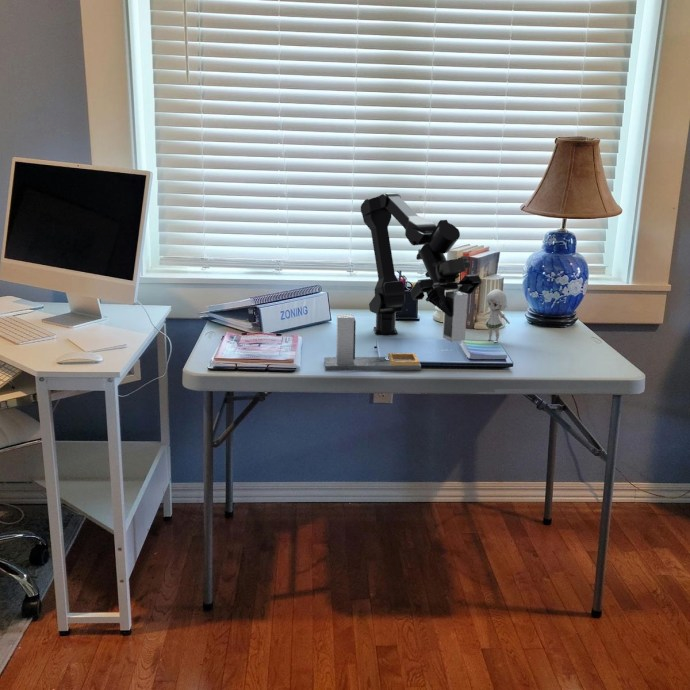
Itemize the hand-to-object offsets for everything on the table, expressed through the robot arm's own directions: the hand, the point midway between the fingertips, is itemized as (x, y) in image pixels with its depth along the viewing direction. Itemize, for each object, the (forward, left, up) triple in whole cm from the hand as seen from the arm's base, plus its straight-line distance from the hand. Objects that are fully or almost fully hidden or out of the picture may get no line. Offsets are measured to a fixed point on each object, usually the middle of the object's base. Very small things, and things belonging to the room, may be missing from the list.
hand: (458, 315), depth 195 cm
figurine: (-22, +16, -14) cm, 30 cm away
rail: (0, -21, -13) cm, 25 cm away
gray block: (-1, -1, -7) cm, 7 cm away
